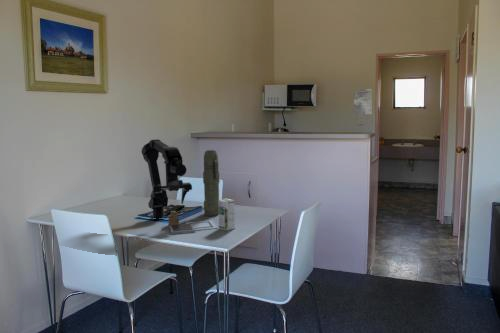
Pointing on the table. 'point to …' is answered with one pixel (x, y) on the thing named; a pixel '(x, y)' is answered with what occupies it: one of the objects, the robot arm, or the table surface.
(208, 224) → the board
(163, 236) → the table surface
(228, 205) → the syrup box
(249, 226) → the table surface
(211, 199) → the thermos
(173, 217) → the stamp
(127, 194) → the table surface
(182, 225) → the ink pad
